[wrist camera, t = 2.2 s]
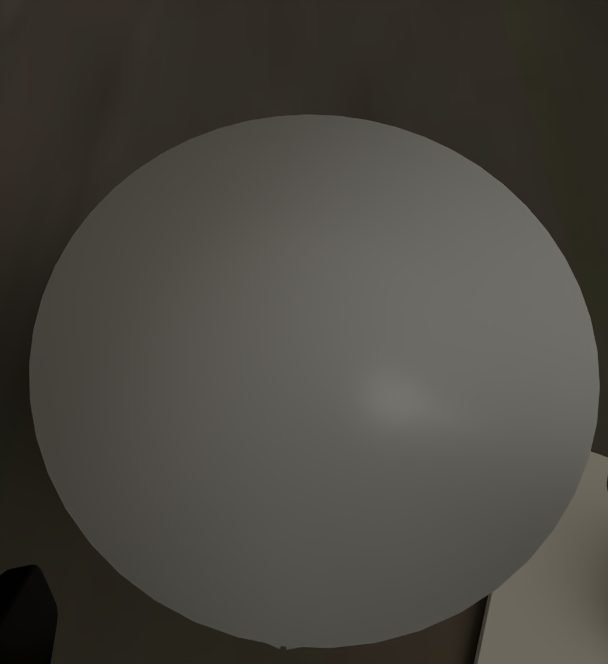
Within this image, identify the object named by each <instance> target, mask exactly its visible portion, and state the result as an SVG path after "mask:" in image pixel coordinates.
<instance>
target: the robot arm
mask: <svg viewBox="0 0 608 664" xmlns="http://www.w3.org/2000/svg"><path fill="white" fill-rule="evenodd" d="M607 490H608V476H607ZM57 615H58V613H57V606H56V602H55V600H54V597H53V595H52V593H51V590H50V588H49V586H48V584H47V581H46V579H45V577H44V574H43V572H42V570H41V569H40V568H39V567H38V566H37V565H27V566H23V567H18V568H13V569H10V570H7V571H5V572H4V573H3V574H1V575H0V664H50V663H51V657H52V651H53V644H54V638H55V632H56V626H57Z"/></svg>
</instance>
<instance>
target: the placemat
mask: <svg viewBox="0 0 608 664" xmlns="http://www.w3.org/2000/svg"><path fill="white" fill-rule="evenodd" d="M607 476H608V458H607V457H604V456H602V455H599V454H596V453H593V452H591V451H590V455H589V459H588V462H587V464H586V467H585V469H584V472H583V474H582V477H581V480H580V482H579V485H578V487H577V490H576V492H575V495H574V496H573V498H572V500H571V502H570V503H569V505H568V507H567V508H566V510H565V512H564V514H563V515H562V517H561V519H560V520H559V522H558V524H557V526H556V527H555V529H554V530H553V531H552V533H551V534H550V535H549V536H548V538H547V539H546V540H545V541H544V542H543V544H542V545H541V546H540V547H539V549H538V550H537V551H536V552H535V553H534V555H533V556H532V557H531V558H530V560H529V561H528V562H527V563H525V564H524V565H523V566H522V567H521V568H520V569H519V570H518V571H517V572H515V573H514V574H513V575H512V576H511V577H510V578H509V579H508V580H507V581H505V582H504V583H503V584H502V585H501V586H500V587H499V588H498V589H496V590H495V591H493V592H492V593H490V594H489V595H488V599H487V603H486V608H485V613H484V618H483V622H482V627H481V632H480V637H479V642H478V646H477V651H476V656H475V661H474V664H608V490H607Z"/></svg>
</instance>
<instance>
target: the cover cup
mask: <svg viewBox="0 0 608 664" xmlns="http://www.w3.org/2000/svg"><path fill="white" fill-rule="evenodd" d="M29 380H30V404H31V410H32V416H33V422H34V428H35V434H36V438H37V441H38V444H39V447H40V451H41V454H42V457H43V460H44V463H45V466H46V469H47V472H48V475H49V477H50V479H51V481H52V483H53V485H54V486H55V488H56V490H57V492H58V494H59V496H60V498H61V500H62V502H63V504H64V506H65V508H66V510H67V511H68V513H69V514H70V516H71V517H72V519H73V520H74V521H75V523H76V524H77V526H78V527H79V528H80V530H81V531H82V533H83V534H84V535H85V537H86V538H87V540H88V541H89V542H90V544H91V545H92V546H93V547H94V548H95V549H96V550H97V551H98V552H99V553H100V554H101V555H102V556H103V557H104V558H105V559H106V560H107V561H108V562H109V563H110V564H111V565H112V566H113V567H114V568H115V569H116V570H117V571H118V572H119V574H121V575H122V576H123V577H125V578H126V579H127V580H129V581H130V582H131V583H132V584H134V585H135V586H137V587H138V588H139V589H141V590H142V591H143V592H144V593H146V594H147V595H148V596H150V597H151V598H152V599H154V600H155V601H157V602H159V603H161V604H162V605H164V606H166V607H168V608H170V609H172V610H174V611H175V612H177V613H179V614H181V615H183V616H185V617H187V618H188V619H190V620H192V621H194V622H196V623H199V624H202V625H205V626H208V627H210V628H213V629H216V630H219V631H222V632H224V633H227V634H230V635H233V636H236V637H239V638H244V639H249V640H254V641H259V642H264V643H267V644H270V645H272V646H274V647H276V648H279V649H280V647H281V646H286V648H287V650H288V649H293V648H298V647H317V648H335V647H343V646H352V645H361V644H370V643H377V642H381V641H384V640H388V639H392V638H395V637H399V636H403V635H406V634H410V633H414V632H417V631H421V630H423V629H425V628H427V627H430V626H432V625H434V624H436V623H438V622H441V621H443V620H446V619H447V618H450V617H452V616H454V615H456V614H459V613H461V612H462V611H464V610H465V609H467V608H468V607H470V606H472V605H473V604H475V603H476V602H478V601H479V600H481V599H482V598H484V597H485V596H487V595H489V594H490V593H492V592H493V591H495V590H496V589H498V588H499V587H500V586H501V585H502V584H503V583H504V582H505V581H507V580H508V579H509V578H510V577H511V576H512V575H513V574H514V573H515V572H517V571H518V570H519V569H520V568H521V567H522V566H523V565H524V564H525V563H527V562H528V561H529V560H530V558H531V557H532V556H533V555H534V553H535V552H536V551H537V550H538V549H539V547H540V546H541V545H542V544H543V542H544V541H545V540H546V539H547V538H548V536H549V535H550V534H551V533H552V531H553V530H554V529H555V527H556V526H557V524H558V522H559V520H560V519H561V517H562V515H563V514H564V512H565V510H566V508H567V507H568V505H569V503H570V502H571V500H572V498H573V496H574V495H575V492H576V490H577V487H578V485H579V482H580V480H581V477H582V474H583V472H584V469H585V467H586V464H587V462H588V459H589V455H590V451H591V446H592V442H593V437H594V433H595V429H596V424H597V414H598V401H599V389H600V385H599V370H598V354H597V348H596V343H595V338H594V333H593V328H592V323H591V319H590V316H589V313H588V310H587V307H586V304H585V301H584V298H583V296H582V293H581V290H580V287H579V285H578V283H577V281H576V279H575V277H574V275H573V273H572V271H571V269H570V267H569V265H568V263H567V261H566V259H565V257H564V255H563V254H562V252H561V251H560V249H559V248H558V246H557V245H556V243H555V242H554V240H553V239H552V237H551V236H550V234H549V233H548V231H547V230H546V229H545V228H544V226H543V225H542V224H541V223H540V222H539V220H538V219H537V218H536V217H535V216H534V215H533V213H532V212H531V211H530V210H529V209H528V207H527V206H526V205H525V204H524V203H523V202H521V201H520V200H519V199H518V198H517V197H516V196H515V195H514V194H513V193H512V192H511V191H510V190H509V189H508V188H507V187H506V186H505V185H503V184H502V183H501V182H499V181H498V180H497V179H495V178H494V177H493V176H491V175H490V174H489V173H488V172H486V171H485V170H484V169H482V168H481V167H480V166H478V165H476V164H475V163H473V162H471V161H470V160H468V159H466V158H465V157H463V156H461V155H460V154H458V153H457V152H455V151H453V150H451V149H449V148H447V147H445V146H443V145H441V144H438V143H436V142H434V141H432V140H430V139H428V138H426V137H423V136H420V135H417V134H414V133H412V132H409V131H406V130H403V129H400V128H397V127H394V126H390V125H385V124H381V123H377V122H373V121H369V120H363V119H356V118H349V117H342V116H328V115H292V116H276V117H270V118H264V119H257V120H251V121H246V122H242V123H238V124H234V125H231V126H227V127H223V128H219V129H216V130H214V131H211V132H208V133H206V134H203V135H200V136H198V137H195V138H192V139H190V140H188V141H186V142H184V143H182V144H180V145H178V146H176V147H174V148H172V149H170V150H168V151H166V152H164V153H162V154H161V155H159V156H157V157H156V158H154V159H153V160H151V161H150V162H148V163H147V164H145V165H143V166H142V167H140V168H139V169H137V170H136V171H135V172H134V173H132V174H131V175H130V176H129V177H127V178H126V179H125V180H124V181H123V182H121V183H120V184H119V185H118V186H116V187H115V188H114V189H113V190H112V191H111V192H110V193H109V194H108V195H107V196H106V197H105V198H104V199H103V200H102V201H101V202H100V203H99V204H98V205H97V206H96V207H95V208H94V209H93V210H92V211H91V213H90V214H89V215H88V217H87V218H86V219H85V220H84V222H83V223H82V224H81V226H80V227H79V228H78V230H77V231H76V232H75V234H74V235H73V236H72V238H71V239H70V241H69V243H68V244H67V246H66V248H65V250H64V251H63V253H62V255H61V256H60V258H59V260H58V262H57V263H56V265H55V267H54V270H53V272H52V274H51V277H50V279H49V282H48V284H47V286H46V289H45V291H44V294H43V296H42V299H41V303H40V307H39V311H38V314H37V318H36V322H35V326H34V329H33V337H32V345H31V353H30V361H29Z"/></svg>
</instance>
